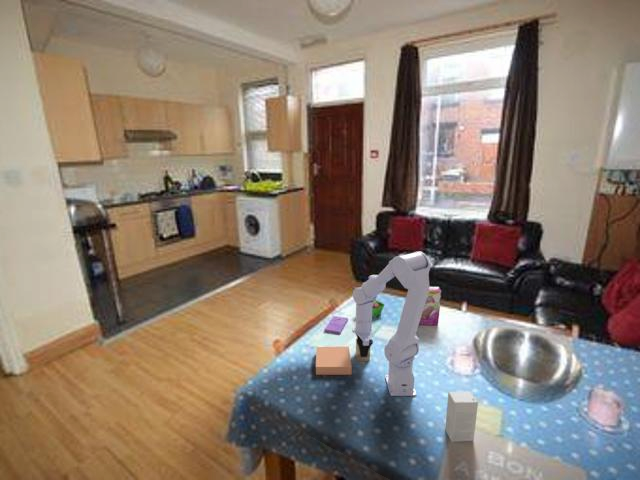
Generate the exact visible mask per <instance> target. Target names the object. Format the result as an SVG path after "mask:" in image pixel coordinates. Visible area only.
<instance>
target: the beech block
mask: <svg viewBox="0 0 640 480" xmlns="http://www.w3.org/2000/svg"><path fill="white" fill-rule="evenodd" d="M355 342H356V343H355V355H356V360H357V362H361V361H362V362H367V361H368V362H369V361H371V347H370V348H369V351H368V355H367V357H361V355H360V349H359V346H358V344H357V341H355Z"/></svg>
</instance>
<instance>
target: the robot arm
mask: <svg viewBox="0 0 640 480" xmlns="http://www.w3.org/2000/svg"><path fill="white" fill-rule="evenodd" d="M431 267H432V264H431V262H430V260H429V258H428V257H427V255H426V254H425V253H424V252H423V251H414V252H411V253H408V254H404V255H398V256H397V255H396V256H394V257H393V258H392V259H391V260H389V261H388V264H387V265H386V266H385V268H383V269H382V270H381V271H380V272H379V273H378V274H372V275H369V276H368V279H367V280H366V281H365V282H362V283H361V284H362V285H361V286H360V287H354V289H353V291H352V299H353V301H354V303H355V327H352V329H351V331H352V333H353V334H355V335H356V339H355V340H356V341H357V344H358V346H359V349H360V355H361V357H367V355H368V351H369V348H370V349H371V346H372V345H373V343H374V340H373V339H372V338H371V337H372V334H373V329H372V326H373V318H372V306H373V305H374V301H375V300H376V299H377V296H378V295H379V294H380V293H382V292H383V291H384V290H385V289H386V285H387V283H388V282H389V281H391V280H392V279H394V278H395V277H396V279H397V281H399V283H400V284H401V285H402V286H403V288H404V289H407V293H406V296H405V297H406V298H405V301H404V304H403V308H402V311H401V315H400V319H399V322H398V326H397V330H396V332H395V333H394V334H393V336H391V338H389V340H388V343H387V344H385V346H384V349H383V350H384V355H385V358H386V360H387V361H388V374H385V375H384V378H385V380H386V385H387V387H388V391H389V395H390V396H392V397H394V396H395V397H405V396H406V397H408V396H410V397H412V396H417V392H416V389H415V375H414V373H413V363H414V362H413V361H414V360H415V356H417V355H418V354H419V351H420V346H419V343H420V338H419V337H418V336H417V331H418V328H419V322H420V319H421V315H422V312H423V309H424V306H425V302H426V299H427V296H428V293H429V287H430V276H429V273H430V271H431ZM376 301H377V300H376ZM370 338H371V339H370ZM356 341H355V342H356Z"/></svg>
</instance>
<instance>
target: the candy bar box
mask: <svg viewBox="0 0 640 480" xmlns="http://www.w3.org/2000/svg"><path fill="white" fill-rule="evenodd" d="M441 300H442V289H441V288H440V286H429V293H428V296H427V299H426V302H425V306H424V309H423V312H422V315H421V319H420V322H419V325H421V326H436V327H437V326H439V318H440V311H441V309H440V308H441ZM419 325H418V326H419Z"/></svg>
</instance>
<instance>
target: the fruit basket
mask: <svg viewBox="0 0 640 480" xmlns="http://www.w3.org/2000/svg"><path fill="white" fill-rule="evenodd" d="M384 306H385V304H384V303H382V302H380V301H379V300H375V301H374V305H373V306H372V319H373V318H375V317H377V316H380V315H382V312H383V310H384Z"/></svg>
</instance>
